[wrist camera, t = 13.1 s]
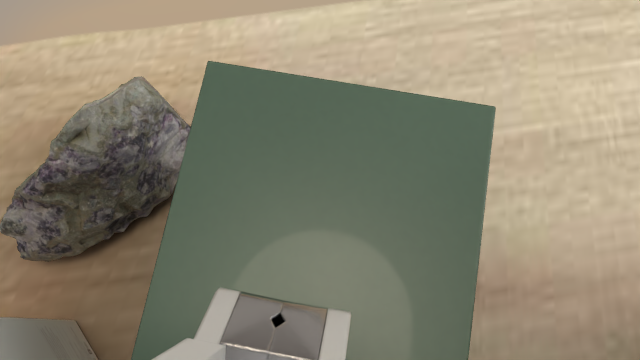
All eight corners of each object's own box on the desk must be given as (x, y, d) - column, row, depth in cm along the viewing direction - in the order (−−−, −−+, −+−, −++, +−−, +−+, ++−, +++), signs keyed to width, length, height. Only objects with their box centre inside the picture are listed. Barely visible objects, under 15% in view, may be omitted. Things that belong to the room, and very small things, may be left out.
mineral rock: (38, 271, 39) (-58, 251, 29) (21, 133, 42) (-71, 73, 32) (217, 225, 40) (180, 190, 30) (188, 92, 43) (146, 21, 33)
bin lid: (211, 68, 26) (207, 60, 25) (491, 113, 25) (496, 106, 24) (119, 427, 22) (111, 431, 21) (448, 496, 21) (452, 502, 20)
